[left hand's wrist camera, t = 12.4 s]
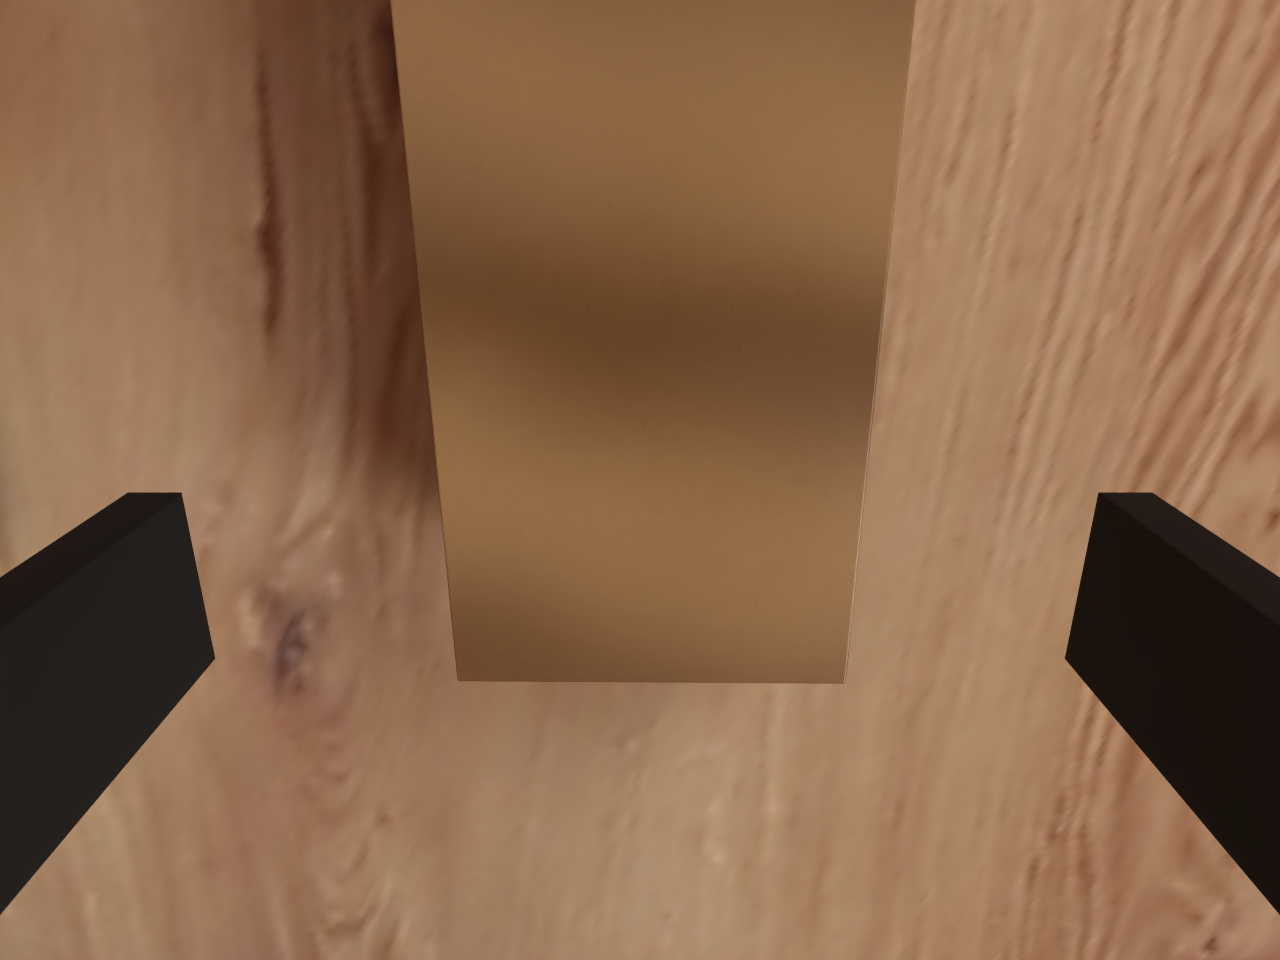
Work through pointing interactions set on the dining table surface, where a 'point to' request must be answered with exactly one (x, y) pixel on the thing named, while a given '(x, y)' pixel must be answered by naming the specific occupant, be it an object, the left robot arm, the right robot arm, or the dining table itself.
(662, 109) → the long beam
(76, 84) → the dining table surface
